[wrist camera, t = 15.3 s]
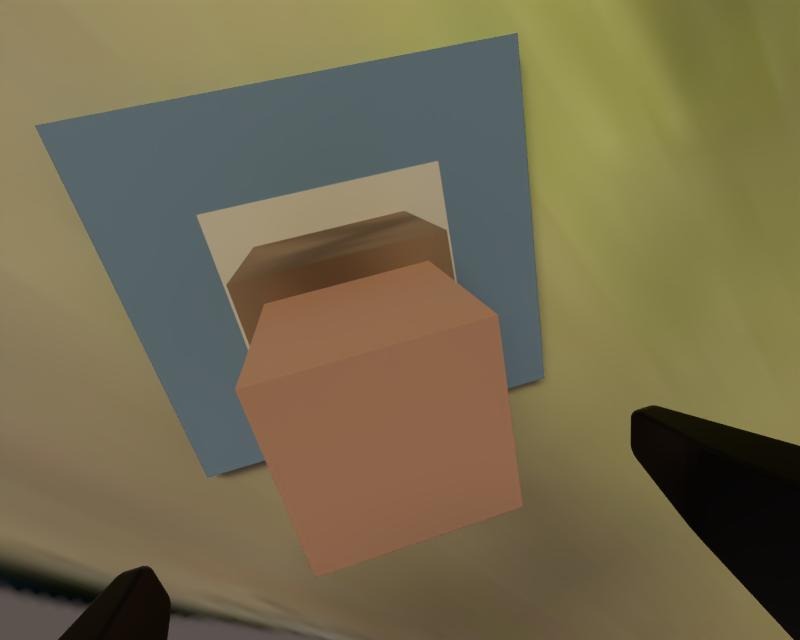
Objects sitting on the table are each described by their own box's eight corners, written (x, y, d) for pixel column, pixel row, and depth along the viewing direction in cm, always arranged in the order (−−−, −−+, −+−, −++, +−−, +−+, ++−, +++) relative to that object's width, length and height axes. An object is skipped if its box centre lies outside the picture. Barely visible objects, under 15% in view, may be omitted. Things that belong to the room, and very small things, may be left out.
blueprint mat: (508, 38, 17) (518, 32, 16) (536, 371, 23) (544, 378, 22) (48, 127, 15) (34, 125, 14) (211, 466, 21) (207, 478, 20)
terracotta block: (428, 260, 12) (497, 315, 8) (454, 398, 14) (523, 507, 10) (264, 304, 12) (235, 389, 7) (313, 441, 14) (315, 577, 9)
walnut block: (404, 210, 18) (446, 229, 12) (430, 343, 20) (475, 410, 15) (253, 247, 17) (226, 285, 12) (299, 380, 19) (295, 464, 14)
